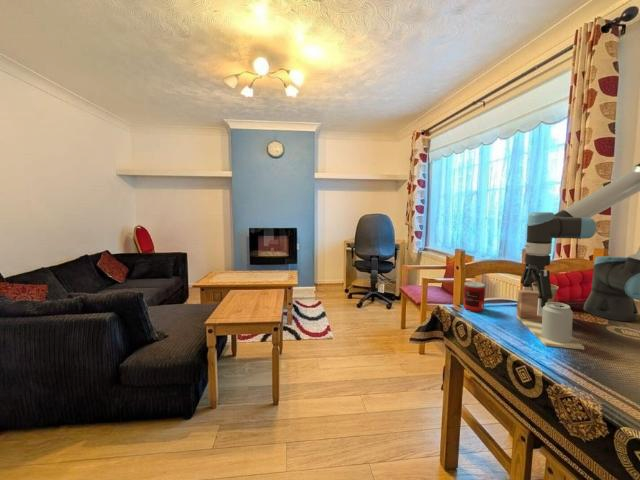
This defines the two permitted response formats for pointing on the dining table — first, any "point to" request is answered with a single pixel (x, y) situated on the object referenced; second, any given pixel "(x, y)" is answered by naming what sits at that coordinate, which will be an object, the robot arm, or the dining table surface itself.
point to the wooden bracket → (537, 318)
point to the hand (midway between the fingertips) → (533, 308)
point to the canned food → (474, 296)
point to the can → (557, 322)
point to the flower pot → (553, 288)
